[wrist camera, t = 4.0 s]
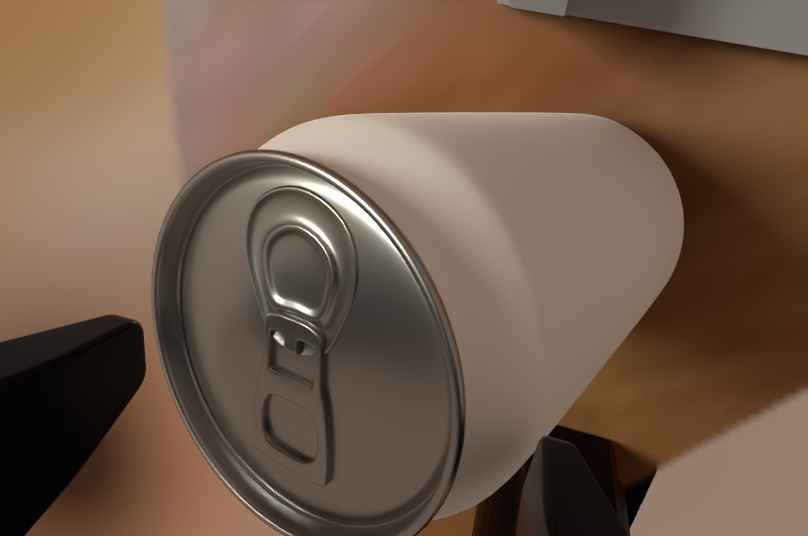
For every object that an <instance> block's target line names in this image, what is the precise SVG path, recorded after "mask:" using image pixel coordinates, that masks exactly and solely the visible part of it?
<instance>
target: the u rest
mask: <svg viewBox="0 0 808 536" xmlns="http://www.w3.org/2000/svg"><path fill="white" fill-rule="evenodd" d="M497 3H499V4H505V5H508V7H512V8H518V9H524V10H529V11H535V12H541V13H547V14H553V15H559V16H564V15H570V16H576V17H582V18H588V19H594V20H600V21H606V22H612V23H618V24H623V25H629V26H635V27H641V28H647V29H653V30H659V31H665V32H671V33H677V34H683V35H689V36H694V37H700V38H706V39H712V40H718V41H724V42H730V43H736V44H742V45H748V46H754V47H760V48H765V49H771V50H777V51H783V52H789V53H795V54H801V55H807V56H808V0H497Z"/></svg>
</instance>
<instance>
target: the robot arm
mask: <svg viewBox="0 0 808 536" xmlns="http://www.w3.org/2000/svg"><path fill="white" fill-rule="evenodd" d="M145 372H146V363H145V348H144V333H143V328H142V326H141V324H140V323H139V322H137V321H136V320H133V319H129V318H125V317H122V316H118V315H105V316H101V317H97V318H94V319H90V320H86V321H82V322H78V323H74V324H70V325H66V326H62V327H58V328H54V329H50V330H47V331H43V332H39V333H35V334H31V335H27V336H23V337H19V338H15V339H11V340H7V341H3V342H0V536H25V535H26V534H27V532H28V531H29V530H30V529H31V528H32V527H33V525H34V524H35V523H36V522H37V521H38V520H39V519H40V517H41V516H42V515H43V514H44V513H45V512H46V511H47V509H48V508H49V507H50V506H51V505H52V504H53V503H54V501H55V500H56V499H57V498H58V497H59V496H60V494H61V493H62V492H63V491H64V490H65V488H66V487H67V486H68V485H69V484H70V482H71V481H72V480H73V479H74V478H75V476H76V475H77V474H78V472H79V471H80V470H81V468H82V467H83V466H84V465H85V463H86V462H87V461H88V459H89V458H90V456H91V455H92V454H93V452H94V451H95V449H96V448H97V446H98V445H99V444H100V442H101V441H102V439H103V438H104V437H105V435H106V434H107V432H108V431H109V430H110V428H111V427H112V425H113V424H114V423H115V421H116V420H117V418H118V417H119V416H120V414H121V413H122V411H123V410H124V409H125V407H126V406H127V404H128V403H129V402H130V400H131V399H132V397H133V396H134V395H135V393H136V392H137V390H138V389H139V387H140V386H141V384H142V382H143V379H144V377H145ZM656 472H657V470H656V471H654V472H653V473H652V474H650V475H647V476H645V477H644V478H642V479H640V480H638V481H636V482H634V483H632V484H631V485H628V486H626V487H624V488H622V486H621V484H620V482H619V480H618V476H617V468H616V459H615V455H614V451H613V447H612V445H611V444H610V443H609V441H607V440H604V439H600V438H597V437H593V436H589V435H586V434H582V433H579V432H575V431H572V430H568V429H564V428H561V427H557V426H555V427H554V428H553V430H552V431H551V432H550V433H549V435H548V436H543V437H542V438H541V439H540V440H539V442H538V444H537V447H536V450H535V451H534V453H533V454H532V455H531V456H530V457H529V458H528V459H527V461H526V462H525V463H524V464H523V465H522V466H521V467H520V468H519V470H518V471H517V472H516V473H515V474H514V475H513V476H512V477H511V478H510V479H509V480H508V481H507V482H506V483H504V484H503V485H502V486H501V487H500V488H499V489H498V490H496V491H495V492H494V493H493V494H492V495H490V496H489V497H488V498H486V499H485V500H483V501H482V502H480V503H478V504H477V508H476V514H475V520H474V526H473V532H472V536H630V528H631V525H632V523H633V521H634V519H635V517H636V515H637V513H638V510H639V509H640V506H641V504H642V502H643V500H644V498H645V496H646V494H647V491H648V489H649V487H650V485H651V483H652V481H653V479H654V477H655V474H656Z"/></svg>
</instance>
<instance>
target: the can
mask: <svg viewBox="0 0 808 536" xmlns="http://www.w3.org/2000/svg"><path fill="white" fill-rule="evenodd" d="M683 234H684V215H683V208H682V202H681V198H680V194H679V191H678V188H677V185H676V183H675V180H674V178H673V176H672V174H671V172H670V171H669V169H668V167H667V166H666V164H665V163H664V161H663V160H662V158H661V157H660V156H659V155H658V153H657V152H656V151H655V150H654V149H653V148H652V147H651V146H650V145H649V144H648V143H647V142H646V141H645V140H644V139H642V138H641V137H640V136H639V135H637V134H636V133H634V132H633V131H632V130H630V129H629V128H627V127H625V126H624V125H622V124H620V123H618V122H616V121H613V120H611V119H607V118H604V117H600V116H595V115H589V114H577V113H375V114H354V115H340V116H333V117H327V118H322V119H317V120H312V121H309V122H305V123H302V124H300V125H297V126H295V127H293V128H290V129H288V130H286V131H285V132H283V133H281V134H279V135H277V136H276V137H274V138H273V139H271V140H270V141H268V142H267V143H265V144H264V145H263V146H261V147H260V148H258V149H255V150H246V151H240V152H236V153H232V154H229V155H226V156H224V157H221V158H219V159H217V160H215V161H213V162H211V163H209V164H208V165H206V166H205V167H203V168H202V169H201V170H199V171H198V172H197V173H196V174H195V175H194V176H193V177H192V178H191V179H190V180H189V181H188V182H187V183H186V184H185V185H184V186H183V187H182V189H181V190H180V191H179V193H178V194H177V196H176V197H175V199H174V201H173V202H172V204H171V206H170V208H169V210H168V212H167V214H166V216H165V218H164V221H163V223H162V226H161V229H160V233H159V236H158V239H157V243H156V248H155V253H154V259H153V266H152V279H151V302H152V303H151V304H152V317H153V325H154V332H155V338H156V344H157V349H158V353H159V357H160V361H161V365H162V368H163V371H164V375H165V378H166V381H167V384H168V387H169V390H170V392H171V395H172V398H173V400H174V402H175V405H176V407H177V410H178V412H179V414H180V416H181V418H182V420H183V422H184V424H185V426H186V428H187V430H188V432H189V434H190V436H191V437H192V439H193V441H194V442H195V444H196V446H197V447H198V449H199V451H200V452H201V454H202V455H203V457H204V458H205V460H206V461H207V463H208V464H209V465H210V467H211V468H212V470H213V471H214V472H215V474H216V475H217V476H218V477H219V479H220V480H221V481H222V482H223V484H224V485H225V486H226V487H227V488H228V489H229V490H230V492H231V493H232V494H233V495H234V496H235V497H236V498H237V499H238V500H239V501H240V502H241V503H242V504H243V505H244V506H245V507H246V508H247V509H249V510H250V511H251V512H252V513H253V514H254V515H255V516H257V517H258V518H259V519H260V520H262V521H263V522H264V523H266V524H267V525H269V526H270V527H271V528H273V529H274V530H276V531H277V532H279V533H281V534H282V535H284V536H416V535H417V534H418V533H419V532H420V531H421V530H422V529H424V528H425V527H426V526H427V525H428V523H429V522H430V521H433V520H437V519H441V518H445V517H448V516H451V515H454V514H457V513H459V512H462V511H464V510H467V509H469V508H471V507H473V506H475V505H477V504H478V503H480V502H482V501H483V500H485V499H486V498H488V497H489V496H490V495H492V494H493V493H494V492H495V491H496V490H498V489H499V488H500V487H501V486H502V485H503V484H504V483H506V482H507V481H508V480H509V479H510V478H511V477H512V476H513V475H514V474H515V473H516V472H517V471H518V470H519V468H520V467H521V466H522V465H523V464H524V463H525V462H526V461H527V459H528V458H529V457H530V456H531V455H532V454H533V453H534V451H535V450H536V447H537V444H538V442H539V440H540V439H541V438H542V437H543V436H548V435H549V433H550V432H551V431H552V430H553V428H554V427H555V426H556V425H557V424H558V422H559V421H560V420H561V419H562V417H563V416H564V415H565V414H566V412H567V411H568V410H569V409H570V407H571V406H572V405H573V404H574V402H575V401H576V400H577V399H578V397H579V396H580V395H581V394H582V392H583V391H584V390H585V389H586V387H587V386H588V385H589V384H590V382H591V381H592V380H593V379H594V377H595V376H596V375H597V374H598V372H599V371H600V370H601V369H602V367H603V366H604V365H605V364H606V362H607V361H608V360H609V359H610V357H611V356H612V355H613V353H614V352H615V351H616V350H617V348H618V347H619V346H620V345H621V343H622V342H623V341H624V339H625V338H626V337H627V336H628V334H629V333H630V332H631V331H632V329H633V328H634V327H635V325H636V324H637V323H638V322H639V320H640V319H641V318H642V316H643V315H644V314H645V313H646V311H647V310H648V309H649V307H650V306H651V305H652V303H653V302H654V301H655V299H656V298H657V297H658V295H659V294H660V293H661V291H662V290H663V288H664V287H665V285H666V284H667V282H668V281H669V279H670V277H671V275H672V273H673V271H674V269H675V266H676V264H677V261H678V258H679V255H680V252H681V247H682V242H683Z"/></svg>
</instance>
